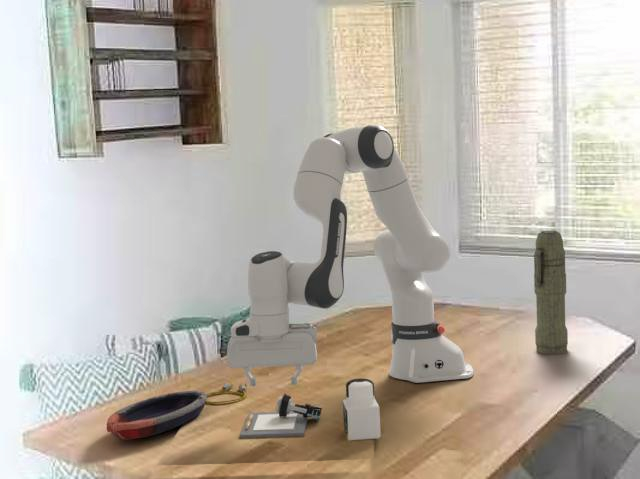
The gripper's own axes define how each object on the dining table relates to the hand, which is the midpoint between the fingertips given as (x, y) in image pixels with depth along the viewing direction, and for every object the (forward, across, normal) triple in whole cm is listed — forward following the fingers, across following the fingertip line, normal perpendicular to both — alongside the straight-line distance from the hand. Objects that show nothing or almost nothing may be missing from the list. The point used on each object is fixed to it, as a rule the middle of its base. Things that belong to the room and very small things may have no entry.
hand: (273, 384), depth 202 cm
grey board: (+9, 0, 0) cm, 9 cm away
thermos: (+10, -74, -58) cm, 95 cm away
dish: (+10, +28, -4) cm, 30 cm away
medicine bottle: (+10, -20, +8) cm, 23 cm away
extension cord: (+10, +15, -26) cm, 31 cm away
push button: (+8, -10, -2) cm, 13 cm away
